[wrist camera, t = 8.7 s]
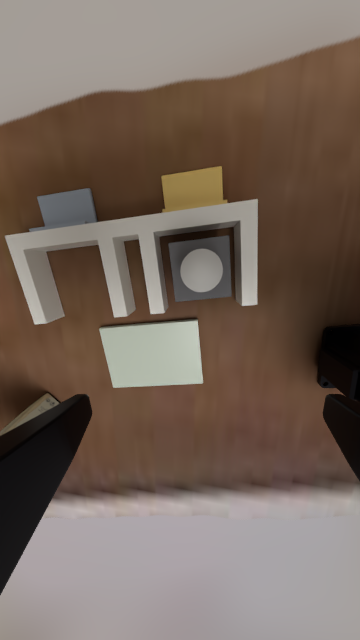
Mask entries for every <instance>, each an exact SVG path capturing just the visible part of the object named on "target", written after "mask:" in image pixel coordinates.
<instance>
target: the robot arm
mask: <svg viewBox="0 0 360 640" xmlns="http://www.w3.org/2000/svg"><path fill="white" fill-rule="evenodd" d="M331 330H332V332H331V333H330V334H329V332H330V331H331ZM318 372H319V376H318V384H319V385H320V386H321V387H322V388H337V389H338V390H339V391H340V392H342V393H343V394H344V395H345V396H344V395H341V394H328V395H327V396H326V398H325V403H324V409H323V418H324V420H325V422H326V424H327V426H328V428H329V429H330V431H331V433H332V435H333V437H334V438H335V440H336V442H337V444H338V446H339V447H340V449H341V451H342V453H343V455H344V456H345V458H346V460H347V462H348V463H349V465H350V467H351V468H352V470H353V472H354V473H355V475H356V476H357V478H358V479H359V481H360V324H354V325H341V326H329V327H326V328H325V329H324V331H323V339H322V348H321V350H320V359H319V368H318ZM324 382H325V383H324ZM323 383H324V384H323ZM91 416H92V408H91V404H90V400H89V396H88V395H86V394H77V395H75V396H73V397H71V398H69V399H67V400H65V401H64V402H62V403H60V404H58V405H56V406H54V407H53V408H51V409H49V410H47V411H45V412H43V413H42V414H40V415H38V416H36V417H34V418H32V419H30V420H29V421H27V422H25V423H23V424H21V425H19V426H18V427H16V428H14V429H12V430H10V431H8V432H7V433H5V434H3V435H1V436H0V595H1V593H2V591H3V589H4V587H5V585H6V583H7V582H8V580H9V578H10V576H11V574H12V572H13V570H14V569H15V567H16V565H17V563H18V561H19V559H20V557H21V556H22V554H23V552H24V550H25V548H26V546H27V544H28V542H29V541H30V539H31V537H32V535H33V533H34V531H35V529H36V527H37V525H38V524H39V522H40V520H41V518H42V516H43V514H44V513H45V511H46V509H47V507H48V505H49V503H50V501H51V499H52V498H53V496H54V494H55V492H56V490H57V488H58V486H59V485H60V483H61V481H62V479H63V477H64V475H65V473H66V471H67V470H68V468H69V466H70V464H71V462H72V460H73V458H74V456H75V454H76V452H77V449H78V447H79V445H80V442H81V440H82V438H83V435H84V433H85V431H86V428H87V426H88V424H89V421H90V419H91Z"/></svg>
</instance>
